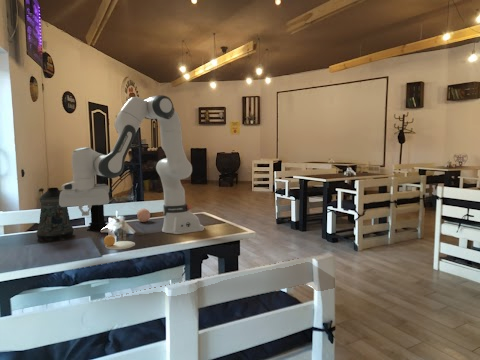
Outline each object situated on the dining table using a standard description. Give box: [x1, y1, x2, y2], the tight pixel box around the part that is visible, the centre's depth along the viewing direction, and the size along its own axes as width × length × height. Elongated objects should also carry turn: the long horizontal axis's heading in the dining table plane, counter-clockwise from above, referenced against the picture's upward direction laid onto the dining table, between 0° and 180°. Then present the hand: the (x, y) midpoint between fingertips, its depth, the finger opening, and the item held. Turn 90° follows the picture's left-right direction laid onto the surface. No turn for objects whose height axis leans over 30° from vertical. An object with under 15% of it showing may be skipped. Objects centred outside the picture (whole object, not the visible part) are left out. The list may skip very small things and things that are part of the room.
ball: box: [103, 234, 116, 246], centre depth 160 cm, size 5×5×5 cm
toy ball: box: [136, 208, 151, 223], centre depth 210 cm, size 8×8×8 cm
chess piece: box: [86, 204, 108, 232], centre depth 192 cm, size 8×8×20 cm
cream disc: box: [105, 240, 136, 251], centre depth 161 cm, size 13×13×1 cm
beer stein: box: [36, 187, 74, 243], centre depth 176 cm, size 16×19×25 cm
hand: (85, 215), depth 155 cm, fingers closed
